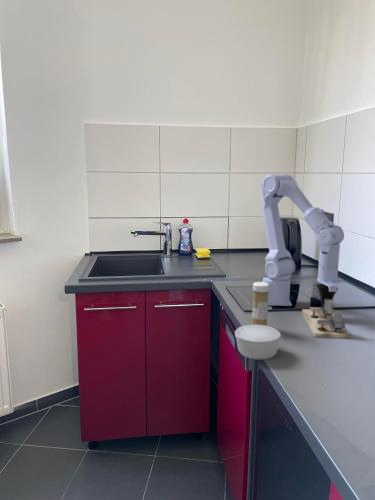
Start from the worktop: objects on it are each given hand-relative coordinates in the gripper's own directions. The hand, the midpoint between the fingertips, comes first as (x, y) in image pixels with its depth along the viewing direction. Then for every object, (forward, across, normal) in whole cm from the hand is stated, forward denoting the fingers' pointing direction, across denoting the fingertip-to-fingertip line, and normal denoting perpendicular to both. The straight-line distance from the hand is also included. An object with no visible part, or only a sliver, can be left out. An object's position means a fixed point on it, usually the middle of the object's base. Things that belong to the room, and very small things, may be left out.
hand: (325, 307), depth 124 cm
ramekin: (+3, -28, +23) cm, 36 cm away
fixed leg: (+2, -14, +2) cm, 14 cm away
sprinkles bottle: (+3, -12, +21) cm, 25 cm away
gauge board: (+3, -7, +2) cm, 8 cm away
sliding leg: (+2, -3, +2) cm, 4 cm away
